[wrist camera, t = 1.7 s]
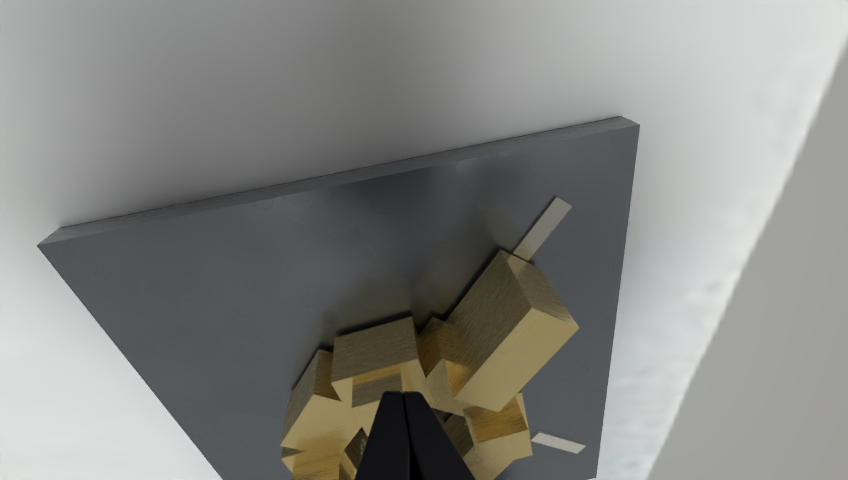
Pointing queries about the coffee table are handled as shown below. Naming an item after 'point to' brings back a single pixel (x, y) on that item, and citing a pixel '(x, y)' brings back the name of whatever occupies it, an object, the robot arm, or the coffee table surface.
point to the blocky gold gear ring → (434, 376)
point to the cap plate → (362, 283)
